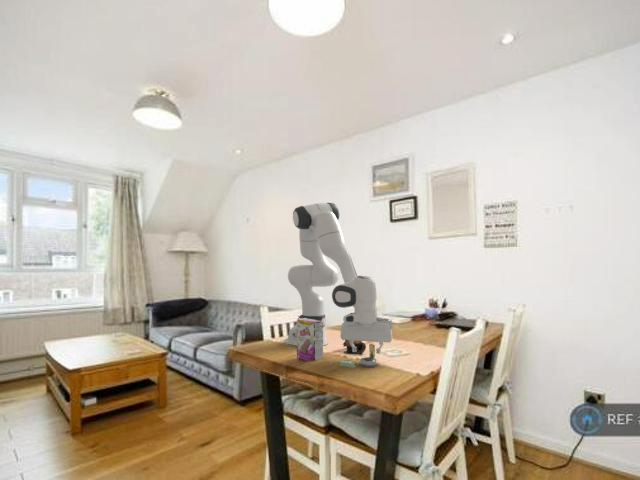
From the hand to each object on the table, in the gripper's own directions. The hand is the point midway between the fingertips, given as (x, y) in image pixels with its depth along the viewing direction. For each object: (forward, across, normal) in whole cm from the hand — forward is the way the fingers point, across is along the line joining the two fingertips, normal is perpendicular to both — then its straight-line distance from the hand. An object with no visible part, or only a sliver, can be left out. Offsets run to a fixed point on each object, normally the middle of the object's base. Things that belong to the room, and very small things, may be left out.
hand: (366, 352), depth 128 cm
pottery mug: (+5, +7, -12) cm, 14 cm away
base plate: (+4, -2, +6) cm, 7 cm away
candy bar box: (+5, +23, +1) cm, 24 cm away
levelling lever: (+3, -2, +4) cm, 5 cm away
